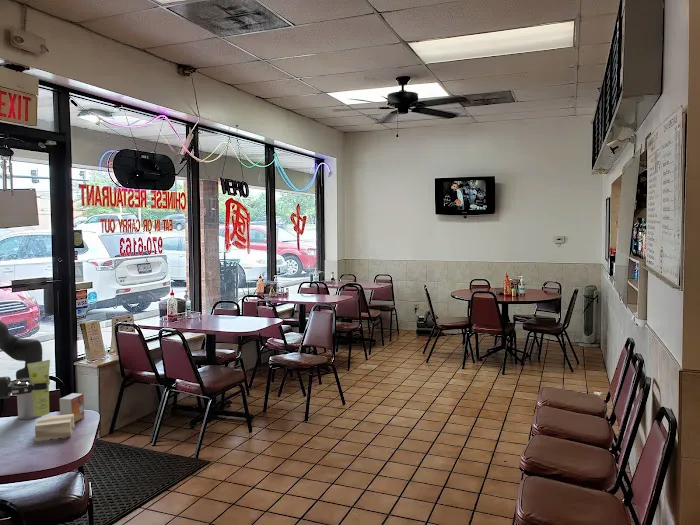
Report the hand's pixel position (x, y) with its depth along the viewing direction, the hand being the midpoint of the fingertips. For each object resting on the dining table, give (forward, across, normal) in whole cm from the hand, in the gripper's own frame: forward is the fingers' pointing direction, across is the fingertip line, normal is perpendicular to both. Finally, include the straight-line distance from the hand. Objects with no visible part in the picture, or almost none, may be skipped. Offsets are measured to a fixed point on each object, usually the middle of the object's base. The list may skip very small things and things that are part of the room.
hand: (47, 383), depth 205 cm
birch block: (-1, +15, +25) cm, 29 cm away
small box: (+3, +30, +25) cm, 39 cm away
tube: (-3, 0, +11) cm, 12 cm away
